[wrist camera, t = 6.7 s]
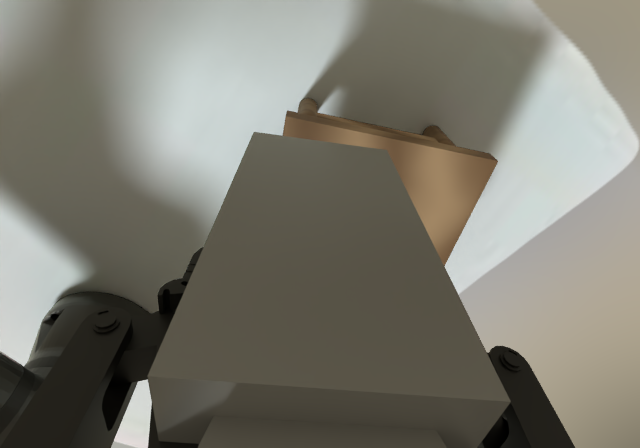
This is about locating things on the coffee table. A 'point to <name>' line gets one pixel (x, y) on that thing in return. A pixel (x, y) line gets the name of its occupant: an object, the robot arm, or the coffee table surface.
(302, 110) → the stool
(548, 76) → the coffee table surface
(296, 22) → the coffee table surface
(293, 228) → the perfume bottle
